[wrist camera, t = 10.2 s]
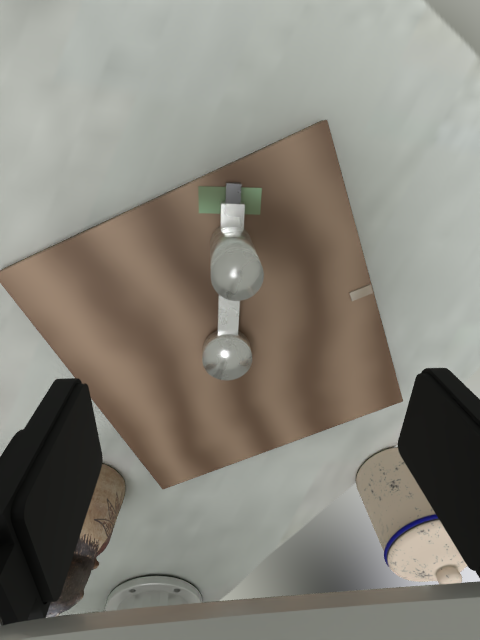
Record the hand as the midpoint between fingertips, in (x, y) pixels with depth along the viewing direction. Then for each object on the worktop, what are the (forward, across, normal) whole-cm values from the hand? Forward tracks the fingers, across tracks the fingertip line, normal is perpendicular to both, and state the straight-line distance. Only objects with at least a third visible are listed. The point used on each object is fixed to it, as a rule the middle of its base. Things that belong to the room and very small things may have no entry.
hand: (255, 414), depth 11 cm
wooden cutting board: (+20, 0, +9) cm, 22 cm away
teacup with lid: (+20, -19, +25) cm, 38 cm away
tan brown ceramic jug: (+20, +14, +26) cm, 36 cm away
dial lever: (+18, 0, +3) cm, 19 cm away
